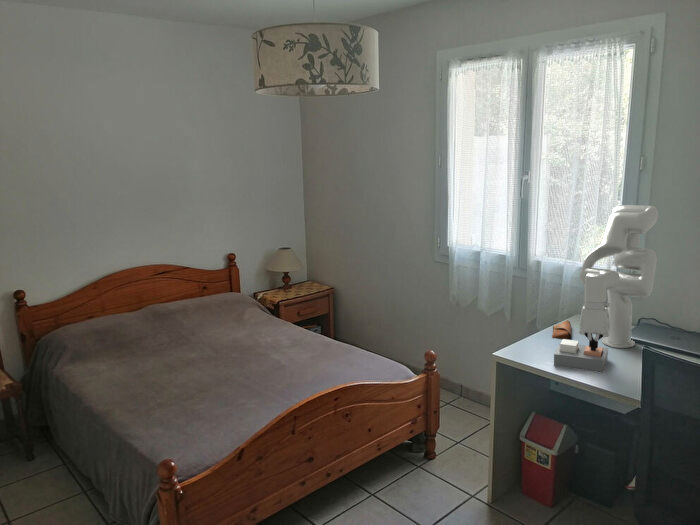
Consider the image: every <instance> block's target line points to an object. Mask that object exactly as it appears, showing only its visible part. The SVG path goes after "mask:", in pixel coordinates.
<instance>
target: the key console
mask: <svg viewBox="0 0 700 525" xmlns="http://www.w3.org/2000/svg"><path fill="white" fill-rule="evenodd" d="M586 346H588V345H584V344H580V343H578V351H577V353H569V352H562V351H560V343H559V345H558V346H557V348H556V350H555V352H554V354H553V366H554V367H561V368H562V367H563V368H568V369H573V370H574V369H575V370H580V371H587V372H588V371H589V372H594V373H595V372H596V373H601V374H604V372H605V368H606V366H607V362H608V360H609V359H608V356H609V347H601V348H603V354H602V357H600V356H592V355H584V350H585V348H586Z"/></svg>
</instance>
